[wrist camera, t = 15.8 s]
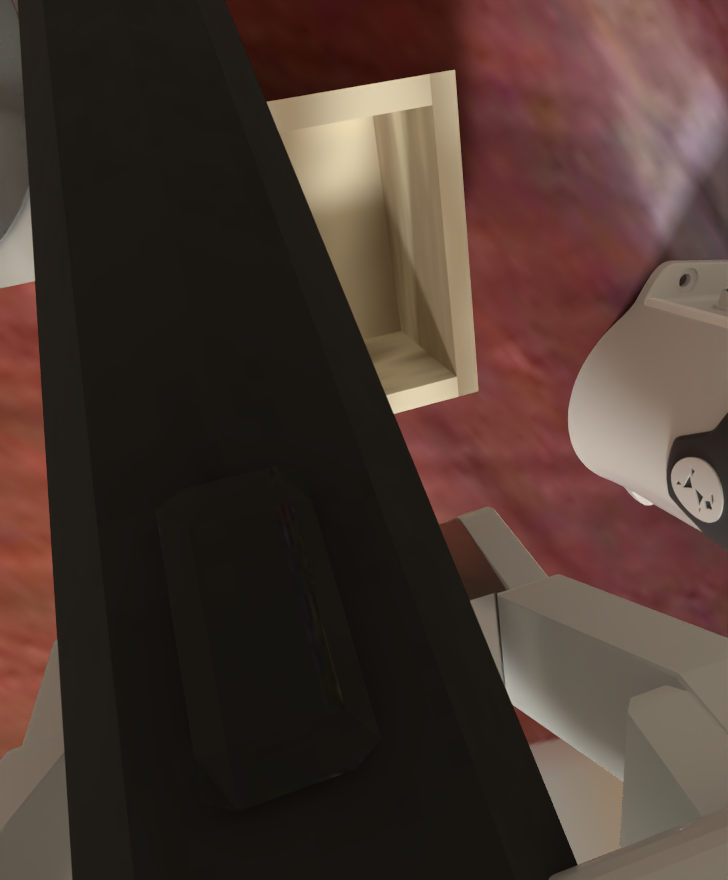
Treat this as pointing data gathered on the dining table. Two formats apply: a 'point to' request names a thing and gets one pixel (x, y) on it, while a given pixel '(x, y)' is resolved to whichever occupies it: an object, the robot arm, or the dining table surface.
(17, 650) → the dining table surface
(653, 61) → the dining table surface
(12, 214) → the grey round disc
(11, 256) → the base
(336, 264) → the open wooden box
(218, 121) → the microphone
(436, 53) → the dining table surface
